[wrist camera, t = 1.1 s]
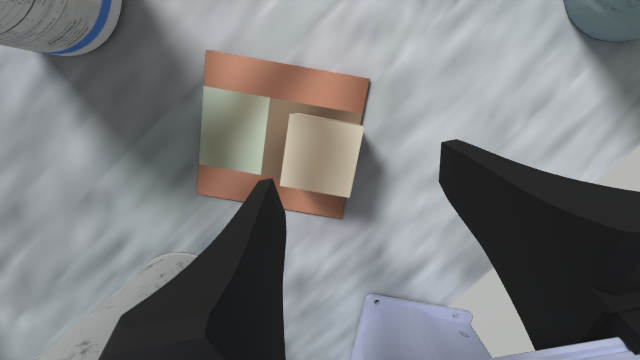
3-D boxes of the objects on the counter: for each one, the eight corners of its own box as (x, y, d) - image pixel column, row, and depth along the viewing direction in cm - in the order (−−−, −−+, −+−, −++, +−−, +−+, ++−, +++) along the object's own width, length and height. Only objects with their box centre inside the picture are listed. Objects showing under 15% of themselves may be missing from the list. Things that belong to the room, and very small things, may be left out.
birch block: (357, 123, 21) (364, 126, 17) (345, 180, 22) (349, 197, 18) (298, 113, 21) (289, 113, 16) (289, 170, 22) (279, 185, 18)
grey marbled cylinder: (235, 254, 24) (143, 392, 12) (240, 344, 27) (167, 533, 15) (128, 249, 25) (-61, 381, 13) (142, 339, 27) (-6, 520, 15)
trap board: (369, 79, 20) (369, 78, 20) (341, 217, 23) (341, 218, 23) (207, 50, 20) (205, 50, 20) (198, 192, 23) (196, 193, 23)
